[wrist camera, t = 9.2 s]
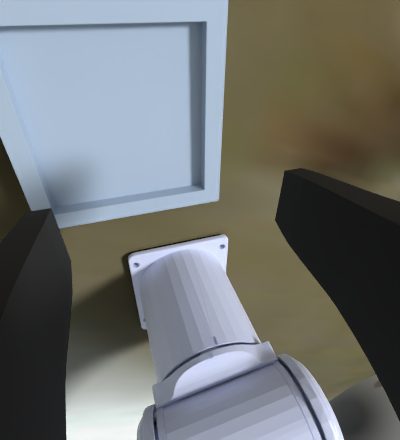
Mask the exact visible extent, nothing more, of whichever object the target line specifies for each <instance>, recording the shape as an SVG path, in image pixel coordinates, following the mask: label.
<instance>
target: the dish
mask: <svg viewBox="0 0 400 440" xmlns="http://www.w3.org/2000/svg"><path fill="white" fill-rule="evenodd" d="M227 16H228V0H0V137H1V139H2V142H3V144H4V146H5V149H6V151H7V154H8V156H9V158H10V161H11V163H12V166H13V168H14V170H15V173H16V175H17V178H18V180H19V182H20V185H21V187H22V190H23V192H24V194H25V197H26V199H27V202H28V204H29V206H30V209H31V211H35V210H42V209H48V208H52V211H53V214H54V216H55V219H56V222H57V225H58V227H59V228H64V227H70V226H76V225H82V224H87V223H93V222H99V221H104V220H110V219H116V218H122V217H127V216H133V215H139V214H144V213H150V212H156V211H161V210H167V209H173V208H179V207H184V206H190V205H196V204H201V203H207V202H213V201H218V200H219V182H220V162H221V141H222V120H223V99H224V78H225V58H226V37H227Z"/></svg>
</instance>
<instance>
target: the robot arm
mask: <svg viewBox="0 0 400 440" xmlns="http://www.w3.org/2000/svg"><path fill="white" fill-rule="evenodd" d="M275 221H276V223H277V225H278V226H279V228H280V230H281V232H282V234H283V236H284V237H285V239H286V241H287V242H288V244H289V245H290V247H291V248H292V249H293V251H294V252H295V253H296V254H297V256H298V257H299V258H300V260H301V261H302V262H303V264H304V265H305V266H306V267H307V269H308V270H309V271H310V272H311V274H312V275H313V276H314V277H315V279H316V280H317V281H318V283H319V284H320V285H321V286H322V288H323V289H324V290H325V291H326V293H327V294H328V295H329V297H330V298H331V300H332V301H333V302H334V304H335V305H336V307H337V308H338V310H339V312H340V313H341V315H342V316H343V318H344V319H345V321H346V323H347V324H348V326H349V327H350V329H351V331H352V332H353V334H354V336H355V337H356V339H357V341H358V343H359V344H360V346H361V348H362V350H363V351H364V353H365V355H366V356H367V358H368V360H369V362H370V364H371V366H372V367H373V369H374V371H375V373H376V375H377V377H378V379H379V381H380V382H381V384H382V386H383V388H384V390H385V392H386V393H387V396H388V398H389V400H390V402H391V404H392V406H393V408H394V410H395V412H396V414H397V416H398V419H399V421H400V202H399V201H396V200H393V199H390V198H386V197H383V196H381V195H378V194H375V193H372V192H369V191H366V190H364V189H361V188H358V187H355V186H353V185H350V184H347V183H345V182H342V181H339V180H336V179H334V178H331V177H328V176H325V175H322V174H320V173H317V172H313V171H310V170H306V169H302V168H299V169H293V170H287V171H285V172H284V177H283V182H282V187H281V193H280V198H279V203H278V208H277V213H276V218H275ZM222 244H223V245H222ZM220 245H222V246H220ZM227 250H228V238H227V237H226V235H218V236H213V237H208V238H203V239H199V240H194V241H189V242H184V243H179V244H174V245H169V246H164V247H160V248H155V249H150V250H145V251H140V252H135V253H132V254H130V255H129V256H128V262H129V267H130V272H131V277H132V282H133V287H134V292H135V297H136V302H137V307H138V312H139V317H140V322H141V327H142V329H147V332H148V338H149V343H150V348H151V353H152V358H153V363H154V369H155V374H156V379H157V384H155V385H153V386H152V389H153V395H154V400H155V404H154V405H151V406H148V407H147V408H146V409H145V410H144V413H143V417H142V419H141V421H140V423H139V425H138V430H137V440H344V439H343V435H342V432H341V429H340V427H339V424H338V422H337V419H336V417H335V415H334V413H333V410H332V408H331V406H330V404H329V402H328V400H327V399H326V397H325V395H324V393H323V391H322V390H321V388H320V386H319V385H318V383H317V382H316V380H315V379H314V377H313V376H312V375H311V373H310V372H309V371H308V370H307V368H306V367H305V366H304V365H303V364H302V363H300V362H299V361H297V360H295V359H293V358H292V357H291V356H289V355H287V354H280V355H277V356H276V355H275V353H274V351H273V349H272V347H271V345H270V343H269V342H268V341H267V342H264V343H261V342H260V340H259V338H258V336H257V334H256V332H255V330H254V328H253V326H252V324H251V322H250V320H249V318H248V316H247V314H246V313H245V311H244V309H243V307H242V305H241V303H240V301H239V299H238V297H237V295H236V293H235V291H234V289H233V287H232V285H231V283H230V281H229V279H228V277H227V275H226V262H227ZM134 263H138V264H134ZM71 304H72V271H71V260H70V257H69V255H68V252H67V249H66V246H65V244H64V241H63V238H62V236H61V233H60V230H59V227H58V225H57V222H56V219H55V216H54V214H53V211H52V208H48V209H42V210H35V211H29V212H27V213H26V214H25V215H24V216H23V217H22V218H21V219H20V220H19V222H18V223H17V224H16V225H15V226H14V227H13V229H12V230H11V231H10V232H9V233H8V235H7V236H6V237H5V238H4V239H3V240H2V242H1V243H0V440H66V402H65V378H66V361H67V350H68V339H69V328H70V316H71Z"/></svg>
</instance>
